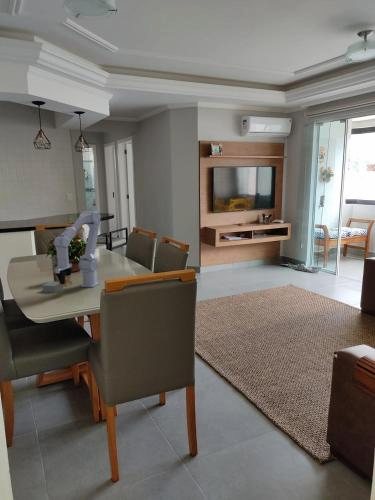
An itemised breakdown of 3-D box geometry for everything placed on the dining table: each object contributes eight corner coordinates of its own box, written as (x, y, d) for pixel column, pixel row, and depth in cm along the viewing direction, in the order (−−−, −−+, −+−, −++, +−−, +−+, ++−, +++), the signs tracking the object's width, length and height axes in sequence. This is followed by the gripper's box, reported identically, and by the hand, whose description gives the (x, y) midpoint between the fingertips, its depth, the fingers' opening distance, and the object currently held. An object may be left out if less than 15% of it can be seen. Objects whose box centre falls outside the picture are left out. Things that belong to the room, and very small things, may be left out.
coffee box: (69, 279, 227) (67, 254, 224) (69, 282, 221) (67, 256, 218) (54, 280, 224) (52, 255, 221) (53, 283, 218) (51, 257, 215)
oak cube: (63, 283, 200) (62, 275, 199) (71, 284, 199) (71, 275, 198) (58, 286, 195) (57, 277, 194) (67, 286, 194) (66, 277, 193)
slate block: (51, 287, 210) (51, 281, 209) (63, 288, 208) (63, 282, 207) (42, 291, 203) (42, 285, 202) (54, 292, 200) (54, 286, 200)
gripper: (62, 255, 202) (64, 278, 204) (48, 261, 188) (51, 286, 190) (74, 255, 200) (76, 279, 203) (61, 261, 186) (63, 286, 189)
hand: (65, 282), depth 196 cm, fingers closed on oak cube, 5 cm apart
